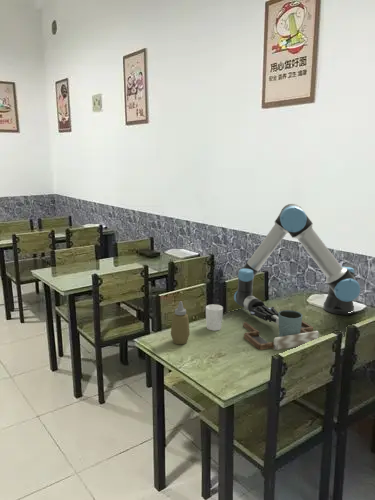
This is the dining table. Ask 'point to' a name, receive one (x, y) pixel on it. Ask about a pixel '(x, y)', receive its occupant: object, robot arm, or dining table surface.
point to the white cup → (214, 317)
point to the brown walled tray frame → (281, 338)
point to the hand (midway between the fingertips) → (281, 323)
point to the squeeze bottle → (180, 325)
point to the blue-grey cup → (289, 322)
